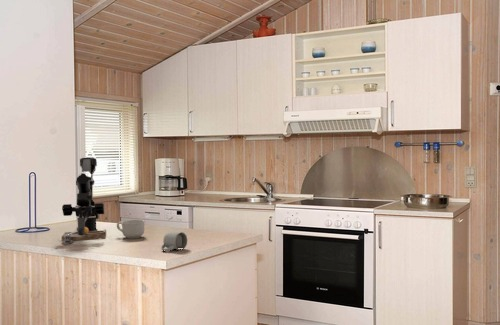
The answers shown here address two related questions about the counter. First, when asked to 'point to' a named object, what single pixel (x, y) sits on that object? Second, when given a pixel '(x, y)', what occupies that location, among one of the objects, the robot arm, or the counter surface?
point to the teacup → (132, 228)
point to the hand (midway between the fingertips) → (82, 223)
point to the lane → (88, 235)
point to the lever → (78, 229)
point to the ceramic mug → (174, 241)
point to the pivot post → (67, 241)
